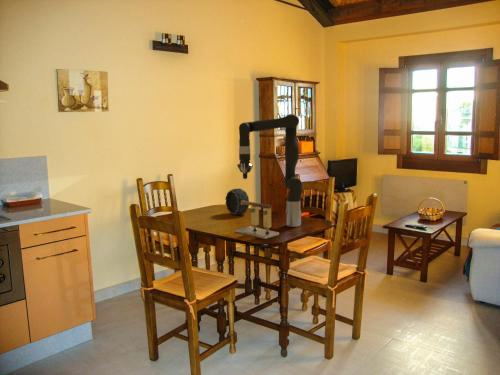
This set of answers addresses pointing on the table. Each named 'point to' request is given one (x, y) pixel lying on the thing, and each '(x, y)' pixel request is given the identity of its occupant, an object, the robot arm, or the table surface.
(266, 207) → the beam
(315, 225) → the table surface
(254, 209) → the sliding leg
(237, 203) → the dark treaded wheel
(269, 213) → the fixed leg
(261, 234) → the plate
